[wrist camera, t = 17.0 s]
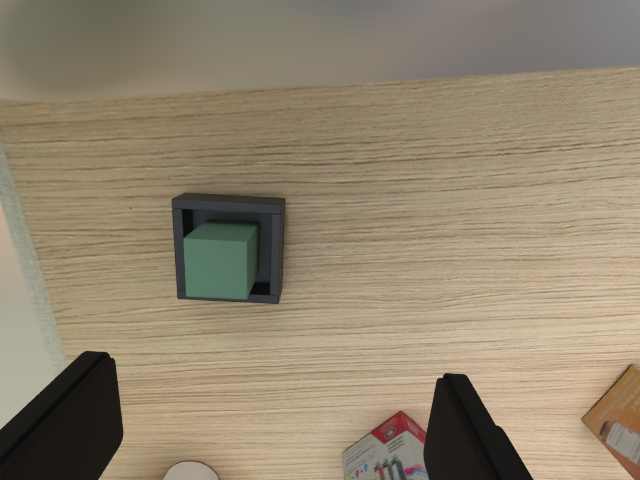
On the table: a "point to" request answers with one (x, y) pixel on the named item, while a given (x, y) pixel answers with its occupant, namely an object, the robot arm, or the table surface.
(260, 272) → the socket
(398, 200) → the table surface
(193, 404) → the table surface
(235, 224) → the pad block
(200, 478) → the cup
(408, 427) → the ink box
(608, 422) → the small box
